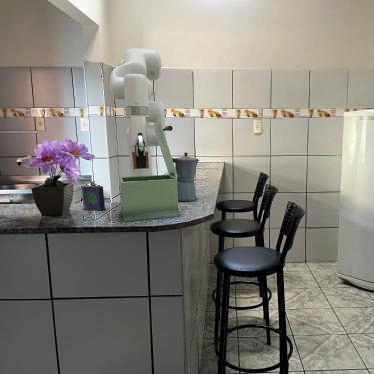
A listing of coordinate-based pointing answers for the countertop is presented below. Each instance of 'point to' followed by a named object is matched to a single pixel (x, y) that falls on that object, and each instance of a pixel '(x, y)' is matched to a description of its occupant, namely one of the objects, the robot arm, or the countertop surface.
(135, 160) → the block
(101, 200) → the flask
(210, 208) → the countertop surface
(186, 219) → the countertop surface
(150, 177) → the box
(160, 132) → the breadbox lid
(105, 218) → the countertop surface
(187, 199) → the moka pot
